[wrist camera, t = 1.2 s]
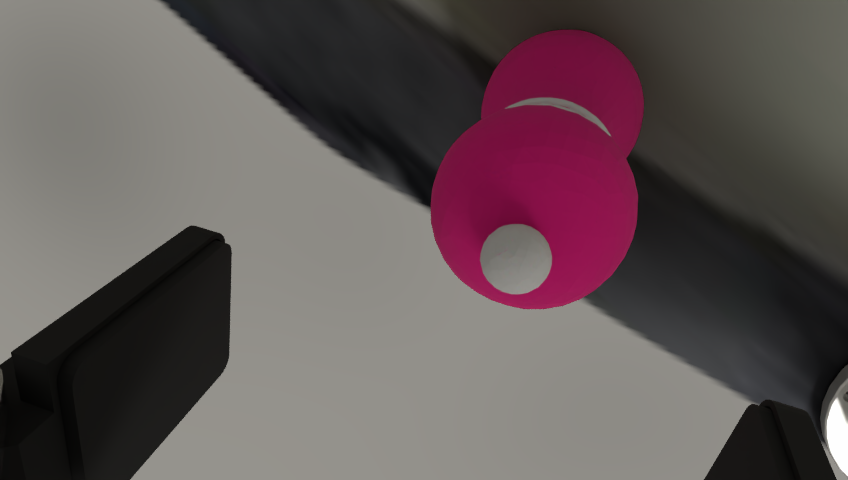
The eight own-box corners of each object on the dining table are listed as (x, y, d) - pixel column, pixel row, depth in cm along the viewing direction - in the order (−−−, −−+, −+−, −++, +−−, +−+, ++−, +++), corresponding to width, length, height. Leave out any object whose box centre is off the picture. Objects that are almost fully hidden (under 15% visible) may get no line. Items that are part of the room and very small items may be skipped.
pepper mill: (604, 177, 33) (594, 437, 16) (480, 131, 34) (341, 332, 17) (666, 46, 30) (738, 198, 12) (525, -2, 30) (408, 79, 13)
